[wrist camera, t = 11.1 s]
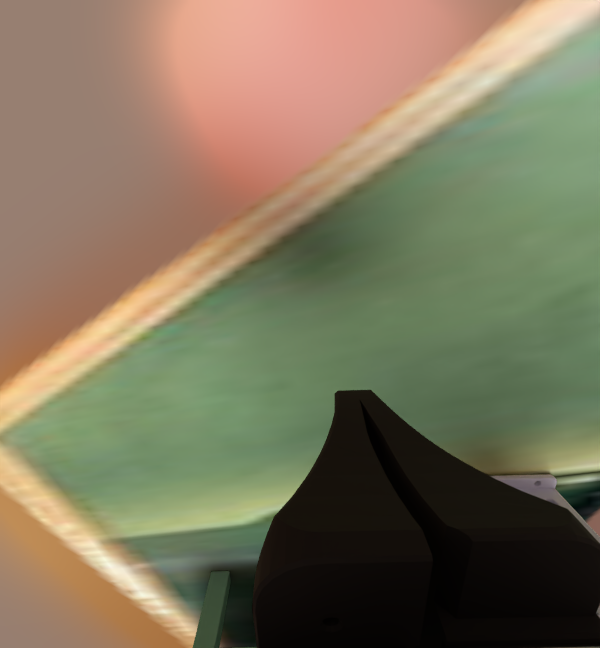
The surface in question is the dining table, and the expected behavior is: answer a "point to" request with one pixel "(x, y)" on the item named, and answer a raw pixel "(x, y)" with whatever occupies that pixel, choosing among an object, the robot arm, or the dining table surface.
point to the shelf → (214, 611)
